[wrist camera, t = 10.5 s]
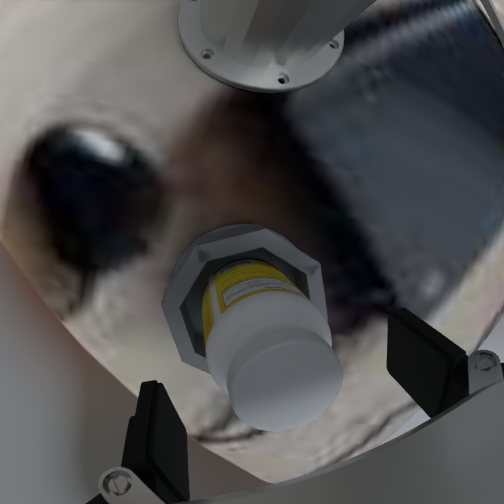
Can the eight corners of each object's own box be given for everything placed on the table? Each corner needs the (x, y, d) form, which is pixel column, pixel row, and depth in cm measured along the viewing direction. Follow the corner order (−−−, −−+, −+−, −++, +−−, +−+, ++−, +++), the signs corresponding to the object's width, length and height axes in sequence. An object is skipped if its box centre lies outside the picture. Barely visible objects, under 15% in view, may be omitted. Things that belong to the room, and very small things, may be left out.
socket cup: (152, 243, 20) (143, 256, 17) (295, 208, 22) (314, 213, 18) (193, 367, 23) (193, 396, 19) (316, 333, 24) (334, 356, 21)
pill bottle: (252, 348, 23) (293, 456, 12) (184, 306, 21) (178, 412, 10) (303, 285, 22) (385, 363, 12) (237, 236, 21) (280, 291, 10)
